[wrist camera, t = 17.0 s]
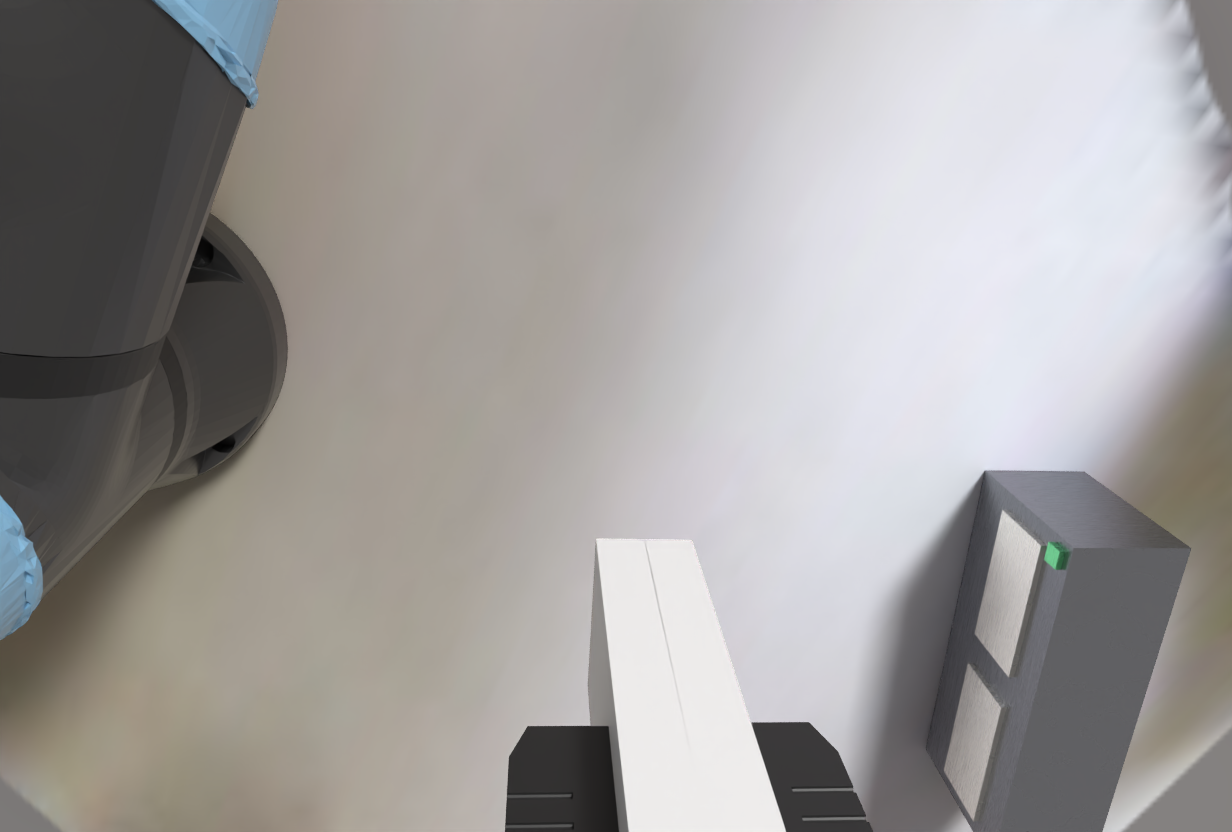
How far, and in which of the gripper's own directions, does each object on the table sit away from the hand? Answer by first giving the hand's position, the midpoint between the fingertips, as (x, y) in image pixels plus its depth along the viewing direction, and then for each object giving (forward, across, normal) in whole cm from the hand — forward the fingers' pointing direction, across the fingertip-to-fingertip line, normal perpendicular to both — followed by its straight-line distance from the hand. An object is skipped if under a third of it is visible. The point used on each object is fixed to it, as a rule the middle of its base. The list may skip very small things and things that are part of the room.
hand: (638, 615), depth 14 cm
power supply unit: (+32, +27, -21) cm, 47 cm away
